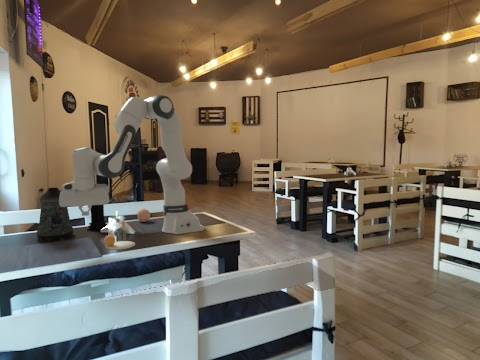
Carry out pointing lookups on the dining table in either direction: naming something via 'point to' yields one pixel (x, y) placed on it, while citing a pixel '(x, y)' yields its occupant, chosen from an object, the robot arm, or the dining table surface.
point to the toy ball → (143, 215)
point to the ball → (109, 240)
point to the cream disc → (121, 245)
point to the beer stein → (53, 218)
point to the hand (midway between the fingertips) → (85, 215)
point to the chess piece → (97, 218)
